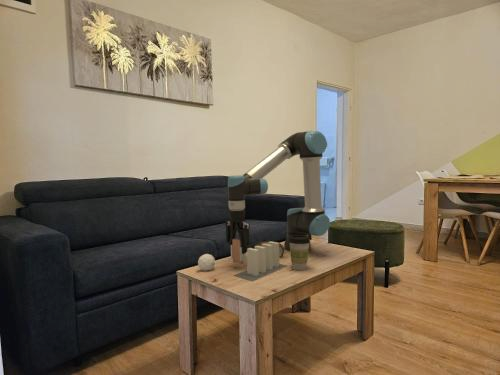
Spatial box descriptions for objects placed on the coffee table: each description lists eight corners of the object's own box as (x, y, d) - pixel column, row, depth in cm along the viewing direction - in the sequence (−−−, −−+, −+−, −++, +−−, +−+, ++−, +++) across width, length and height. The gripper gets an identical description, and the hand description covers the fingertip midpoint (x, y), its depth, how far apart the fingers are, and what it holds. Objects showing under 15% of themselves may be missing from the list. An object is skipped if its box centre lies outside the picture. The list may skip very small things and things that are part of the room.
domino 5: (270, 264, 160) (270, 241, 159) (279, 266, 156) (279, 242, 155) (268, 264, 158) (268, 242, 157) (276, 267, 155) (276, 243, 154)
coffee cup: (293, 273, 148) (293, 240, 147) (285, 267, 157) (285, 235, 156) (313, 271, 151) (314, 238, 149) (304, 265, 160) (304, 234, 159)
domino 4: (263, 266, 156) (263, 243, 155) (272, 268, 153) (272, 245, 152) (261, 267, 154) (261, 244, 154) (270, 269, 151) (270, 245, 150)
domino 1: (235, 261, 158) (234, 238, 157) (243, 263, 154) (242, 239, 153) (232, 262, 156) (232, 239, 155) (240, 264, 153) (240, 240, 152)
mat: (269, 262, 164) (269, 261, 164) (288, 267, 157) (288, 265, 157) (232, 277, 144) (232, 275, 144) (252, 283, 137) (252, 281, 137)
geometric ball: (210, 275, 155) (220, 260, 156) (204, 274, 148) (215, 259, 149) (198, 265, 158) (208, 251, 159) (192, 264, 150) (202, 249, 151)
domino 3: (257, 269, 152) (257, 245, 151) (265, 271, 149) (265, 247, 148) (254, 270, 151) (254, 246, 150) (263, 272, 147) (263, 248, 146)
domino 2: (250, 272, 148) (249, 247, 147) (258, 274, 145) (258, 249, 144) (247, 273, 147) (247, 248, 146) (256, 275, 144) (256, 250, 143)
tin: (284, 257, 172) (284, 241, 172) (284, 259, 169) (284, 243, 168) (255, 257, 174) (254, 241, 173) (254, 259, 171) (254, 242, 170)
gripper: (217, 208, 156) (218, 257, 158) (246, 212, 144) (247, 265, 146) (228, 206, 162) (229, 253, 164) (257, 210, 150) (258, 260, 152)
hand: (238, 259), depth 155 cm, fingers closed on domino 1, 5 cm apart
